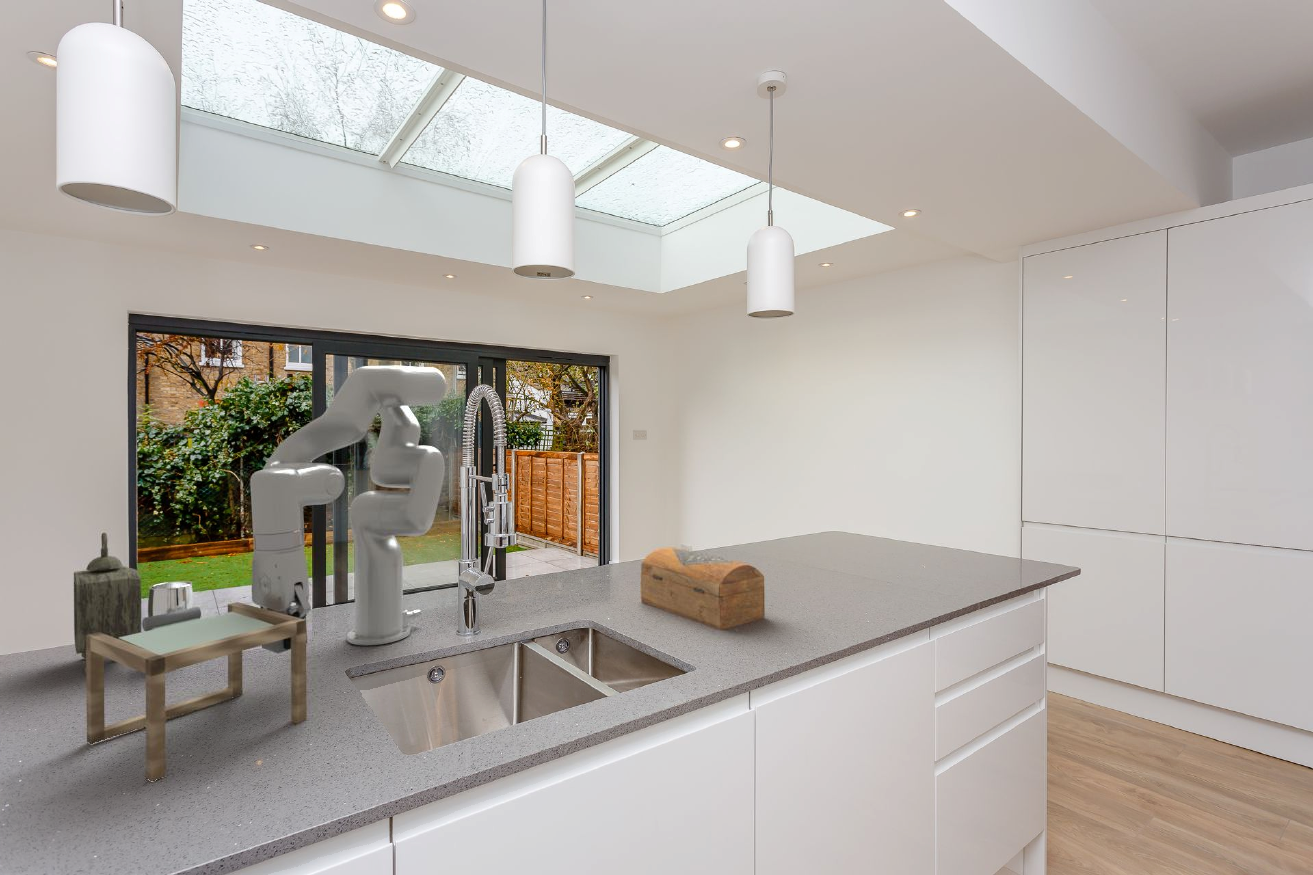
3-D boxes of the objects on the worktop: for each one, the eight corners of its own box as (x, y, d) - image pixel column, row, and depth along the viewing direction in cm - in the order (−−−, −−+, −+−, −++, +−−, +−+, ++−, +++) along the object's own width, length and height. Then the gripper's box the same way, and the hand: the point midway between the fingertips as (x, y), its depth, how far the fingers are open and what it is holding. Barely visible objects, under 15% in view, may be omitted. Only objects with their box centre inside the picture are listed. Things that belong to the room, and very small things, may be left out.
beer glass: (140, 671, 117) (140, 590, 116) (159, 658, 123) (158, 581, 123) (184, 667, 118) (183, 588, 118) (200, 654, 125) (199, 579, 125)
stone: (290, 637, 113) (289, 605, 112) (307, 643, 110) (305, 609, 110) (261, 647, 109) (260, 613, 108) (278, 653, 106) (276, 618, 106)
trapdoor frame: (237, 692, 107) (237, 601, 107) (306, 719, 97) (306, 619, 97) (86, 743, 90) (85, 634, 90) (151, 782, 80) (150, 660, 80)
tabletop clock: (74, 658, 123) (73, 531, 123) (134, 647, 130) (133, 526, 129) (77, 679, 113) (76, 540, 113) (142, 665, 119) (141, 534, 119)
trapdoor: (222, 614, 105) (222, 599, 105) (280, 633, 96) (280, 617, 96) (108, 640, 92) (109, 623, 92) (164, 665, 83) (164, 647, 83)
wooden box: (769, 618, 151) (769, 560, 151) (718, 631, 141) (718, 569, 141) (687, 592, 175) (687, 542, 174) (639, 602, 164) (639, 549, 164)
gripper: (229, 539, 109) (235, 641, 110) (285, 551, 101) (291, 661, 102) (274, 531, 116) (279, 627, 117) (330, 541, 107) (334, 645, 108)
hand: (284, 642), depth 109 cm, fingers closed on stone, 5 cm apart
